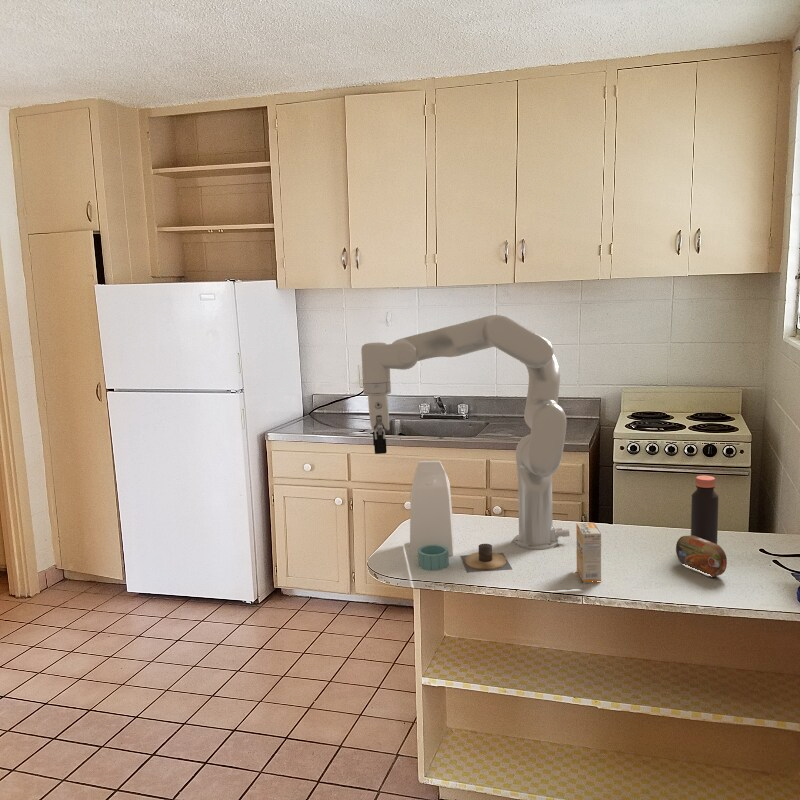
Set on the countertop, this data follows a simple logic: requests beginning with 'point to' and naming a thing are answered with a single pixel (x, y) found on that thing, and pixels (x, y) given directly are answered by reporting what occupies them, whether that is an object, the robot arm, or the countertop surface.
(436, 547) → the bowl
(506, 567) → the mat
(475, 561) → the lid
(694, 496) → the bottle
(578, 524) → the supplement box
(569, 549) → the countertop surface
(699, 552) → the tin
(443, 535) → the milk
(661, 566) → the countertop surface
